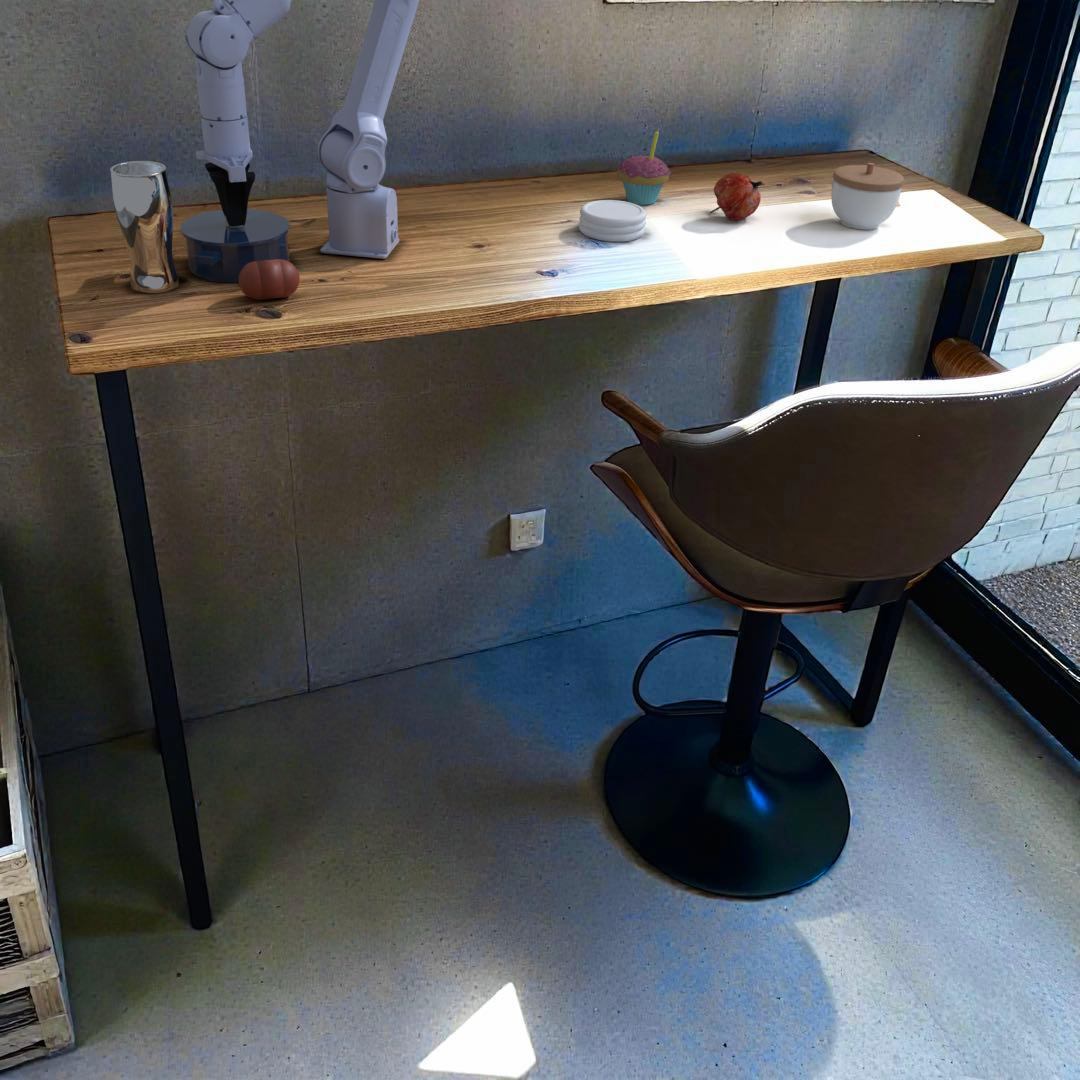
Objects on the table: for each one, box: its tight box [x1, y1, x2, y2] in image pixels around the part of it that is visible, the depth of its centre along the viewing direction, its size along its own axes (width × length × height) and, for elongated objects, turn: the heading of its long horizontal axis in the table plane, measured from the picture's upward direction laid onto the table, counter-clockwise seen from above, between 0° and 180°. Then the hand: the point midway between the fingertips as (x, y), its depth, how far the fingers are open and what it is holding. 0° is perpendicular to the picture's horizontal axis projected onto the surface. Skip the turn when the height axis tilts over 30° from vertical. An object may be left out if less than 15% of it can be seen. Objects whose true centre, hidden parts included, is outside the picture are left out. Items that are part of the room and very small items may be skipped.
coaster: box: [578, 199, 647, 243], centre depth 175 cm, size 10×10×4 cm
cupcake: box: [616, 127, 672, 206], centre depth 187 cm, size 9×8×12 cm
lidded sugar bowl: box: [830, 162, 905, 231], centre depth 182 cm, size 11×11×9 cm
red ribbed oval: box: [238, 259, 300, 301], centre depth 148 cm, size 8×5×5 cm, turn 111°
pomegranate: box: [709, 172, 766, 222], centre depth 183 cm, size 7×7×10 cm
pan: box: [184, 233, 290, 284], centre depth 157 cm, size 13×19×5 cm
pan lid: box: [179, 208, 291, 247], centre depth 155 cm, size 14×14×4 cm
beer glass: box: [109, 160, 180, 294], centre depth 147 cm, size 7×7×15 cm
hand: (235, 221), depth 155 cm, fingers closed on pan lid, 2 cm apart
